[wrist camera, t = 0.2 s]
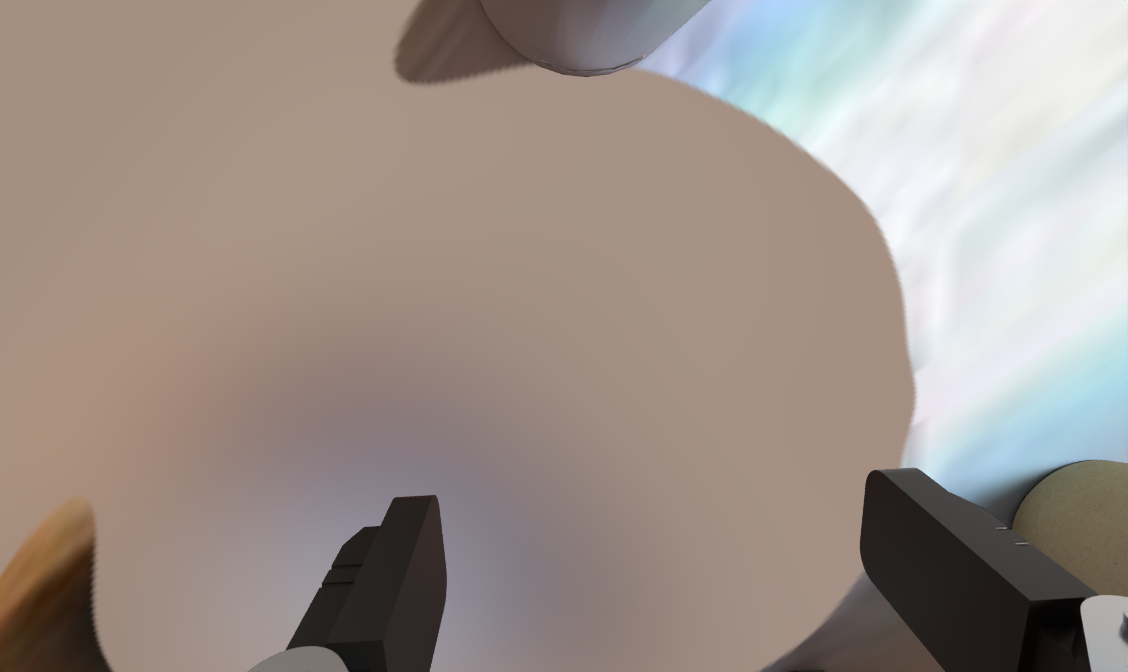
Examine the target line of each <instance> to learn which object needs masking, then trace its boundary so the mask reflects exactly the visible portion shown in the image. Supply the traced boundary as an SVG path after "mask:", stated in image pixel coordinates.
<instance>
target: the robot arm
mask: <svg viewBox="0 0 1128 672" xmlns="http://www.w3.org/2000/svg"><path fill="white" fill-rule="evenodd" d="M710 1H711V0H480V2H481V4H482V6H483V9H484V11H485V13H486V15H487V17H488V18H489V20H490V21H491V22H492V24H493V25H494V27H495V28H496V30H497V31H498V32H499V34H500V35H501V37H502V38H503V39H504V40H505V41H507V42H508V43H509V44H510V45H511V46H512V47H513V48H514V49H515V50H516V51H517V52H518V53H519V54H520V55H522V56H524V57H525V58H527V59H529V60H530V61H532V62H533V63H535V64H537V65H538V66H540V67H542V68H545V69H548V70H551V71H554V72H557V73H560V74H563V75H573V76H582V77H589V76H597V75H605V74H610V73H613V72H616V71H619V70H621V69H624V68H627V67H630V66H632V65H634V64H635V63H637V62H638V61H640V60H641V59H643V58H645V57H646V56H648V55H649V54H651V53H652V52H653V51H654V50H655V49H657V48H658V47H659V46H660V45H661V44H662V43H663V42H664V41H666V40H667V39H668V38H669V37H670V36H672V35H673V34H674V33H675V32H676V31H677V30H678V29H680V28H681V27H682V26H683V25H684V24H685V23H686V22H687V21H689V20H690V19H691V18H692V17H693V16H694V15H695V14H696V13H698V12H699V11H700V10H701V9H702V8H703V7H704V6H705V5H707V4H708V3H709V2H710ZM860 553H861V558H862V562H863V566H864V568H865V571H866V573H867V575H868V577H869V578H870V580H871V581H872V582H873V584H874V585H875V586H876V587H877V588H878V590H879V591H880V592H881V593H882V595H883V596H884V597H885V598H886V599H887V601H888V602H889V603H890V604H891V606H892V607H893V608H894V609H895V610H896V612H897V613H898V614H899V615H900V617H901V618H902V619H903V620H904V621H905V623H906V624H907V625H908V626H909V628H910V629H911V630H912V631H913V632H914V634H915V635H916V636H917V637H918V639H919V640H920V641H921V642H922V643H923V645H924V646H925V647H926V648H927V650H928V651H929V652H930V653H931V654H932V656H933V657H934V658H935V659H936V661H937V662H938V663H939V664H940V666H941V667H942V668H943V669H944V670H945V672H1128V597H1123V596H1114V595H1099V594H1098V593H1096V592H1095V591H1094V590H1092V589H1091V588H1090V587H1088V586H1087V585H1086V584H1084V583H1083V582H1082V581H1080V580H1079V579H1078V578H1076V577H1075V576H1074V575H1072V574H1071V573H1070V572H1068V571H1067V570H1065V569H1064V568H1063V567H1061V566H1060V565H1059V564H1057V563H1056V562H1055V561H1053V560H1052V559H1051V558H1049V557H1048V556H1047V555H1045V554H1044V553H1043V552H1041V551H1040V550H1039V549H1037V548H1036V547H1035V546H1033V545H1028V541H1027V540H1025V539H1024V538H1023V537H1021V536H1020V535H1019V534H1017V533H1016V532H1015V531H1013V530H1008V528H1007V525H1005V524H1004V523H1003V522H1001V521H1000V520H999V519H997V518H996V517H995V516H993V515H992V514H991V513H989V512H988V511H987V510H985V509H984V508H982V507H980V506H978V505H976V504H974V503H971V502H969V501H967V500H965V499H963V498H961V497H958V496H956V495H954V494H952V493H949V492H948V491H947V490H945V489H944V488H943V487H942V486H940V485H939V484H938V483H936V482H935V481H934V480H932V479H931V478H930V477H929V476H927V475H926V474H925V473H923V472H922V471H921V470H919V469H917V468H902V469H886V470H874V471H871V472H870V473H869V475H868V477H867V480H866V485H865V497H864V507H863V517H862V527H861V537H860ZM446 587H447V573H446V562H445V553H444V544H443V535H442V526H441V518H440V510H439V503H438V499H437V497H436V495H427V496H410V497H395V498H394V499H393V500H392V503H391V505H390V507H389V509H388V511H387V513H386V515H385V517H384V520H383V522H382V524H381V526H374V527H364V528H363V529H361V530H360V531H359V532H358V533H357V534H355V535H354V536H353V537H352V538H351V539H350V540H348V541H347V542H346V543H345V544H344V545H343V546H342V548H341V550H340V551H339V553H338V555H337V557H336V559H335V560H334V562H333V564H332V569H331V570H329V571H328V573H327V575H326V577H325V579H324V581H323V582H322V588H319V590H318V592H317V593H316V595H315V597H314V599H313V601H312V603H311V604H310V606H309V608H308V610H307V612H306V613H305V615H304V617H303V619H302V621H301V623H300V625H299V626H298V628H297V630H296V632H295V634H294V636H293V638H292V639H291V641H290V643H289V645H288V647H287V648H286V650H285V651H283V652H280V653H278V654H276V655H273V656H271V657H269V658H267V659H266V660H264V661H262V662H260V663H259V664H257V665H256V666H255V667H253V668H252V669H250V670H249V671H248V672H430V667H431V663H432V658H433V654H434V650H435V645H436V641H437V637H438V633H439V628H440V623H441V619H442V615H443V611H444V606H445V600H446Z"/></svg>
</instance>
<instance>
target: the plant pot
mask: <svg viewBox="0 0 1128 672" xmlns="http://www.w3.org/2000/svg"><path fill="white" fill-rule="evenodd" d="M1012 530H1013V531H1015V532H1016V533H1017V534H1019V535H1020V536H1021V537H1023V538H1024V539H1025V540H1027V541H1028V545H1033V546H1035V547H1036V548H1037V549H1039V550H1040V551H1041V552H1043V553H1044V554H1045V555H1047V556H1048V557H1049V558H1051V559H1052V560H1053V561H1055V562H1056V563H1057V564H1059V565H1060V566H1061V567H1063V568H1064V569H1065V570H1067V571H1068V572H1070V573H1071V574H1072V575H1074V576H1075V577H1076V578H1078V579H1079V580H1080V581H1082V582H1083V583H1084V584H1086V585H1087V586H1088V587H1090V588H1091V589H1092V590H1094V591H1095V592H1096V593H1098V594H1099V595H1114V596H1123V597H1128V464H1127V463H1121V462H1114V461H1107V460H1090V461H1083V462H1078V463H1074V464H1071V465H1068V466H1066V467H1063V468H1061V469H1059V470H1057V471H1055V472H1054V473H1052V474H1050V475H1049V476H1047V477H1046V478H1045V479H1043V480H1042V481H1041V482H1040V483H1038V484H1037V485H1036V486H1035V487H1034V488H1033V489H1032V490H1031V491H1030V492H1029V494H1028V495H1027V496H1026V497H1025V499H1024V500H1023V502H1022V503H1021V505H1020V507H1019V508H1018V510H1017V512H1016V515H1015V518H1014V521H1013V525H1012Z"/></svg>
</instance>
